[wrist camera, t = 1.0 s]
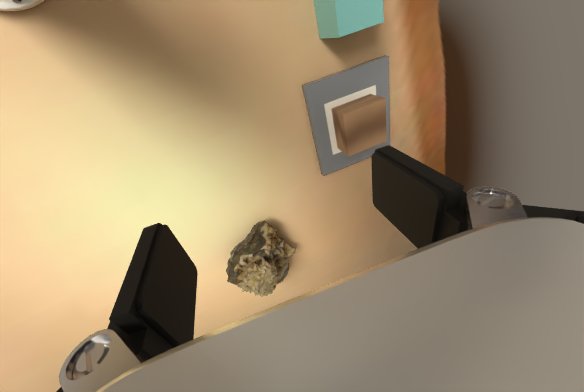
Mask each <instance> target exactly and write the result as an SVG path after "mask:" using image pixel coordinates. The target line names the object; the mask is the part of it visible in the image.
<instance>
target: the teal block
mask: <svg viewBox="0 0 584 392" xmlns="http://www.w3.org/2000/svg"><path fill="white" fill-rule="evenodd" d="M314 5H315V11H316V17H317V23H318V30H319V36H320V38H339V37H342V36H345V35H348V34H351V33H354V32H357V31H360V30H362V29H365V28H368V27H371V26H374V25H377V24H380V23H382V22H384V18H383V0H314Z"/></svg>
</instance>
